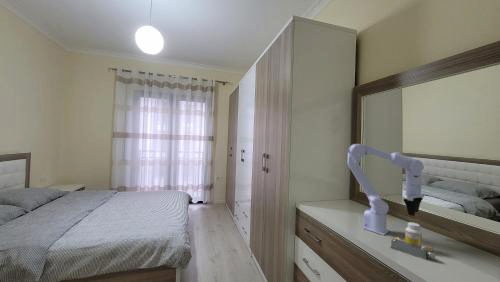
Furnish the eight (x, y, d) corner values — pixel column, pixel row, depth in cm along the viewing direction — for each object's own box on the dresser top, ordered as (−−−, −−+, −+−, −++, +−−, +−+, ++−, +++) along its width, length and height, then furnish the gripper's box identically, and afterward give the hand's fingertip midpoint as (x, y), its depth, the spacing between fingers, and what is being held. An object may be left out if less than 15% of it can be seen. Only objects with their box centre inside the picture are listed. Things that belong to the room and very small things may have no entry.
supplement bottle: (413, 250, 86) (414, 226, 86) (401, 244, 91) (402, 221, 91) (424, 250, 86) (425, 226, 87) (412, 243, 92) (413, 221, 92)
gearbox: (391, 247, 87) (391, 239, 87) (393, 245, 90) (393, 237, 90) (434, 262, 77) (434, 253, 77) (435, 259, 80) (435, 250, 80)
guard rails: (391, 244, 90) (391, 241, 90) (396, 239, 95) (396, 236, 95) (429, 257, 81) (429, 254, 81) (432, 250, 86) (433, 247, 86)
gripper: (421, 187, 93) (421, 219, 92) (427, 184, 102) (426, 212, 102) (401, 185, 98) (401, 215, 98) (409, 182, 108) (408, 208, 107)
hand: (413, 213), depth 100 cm, fingers open, 7 cm apart
